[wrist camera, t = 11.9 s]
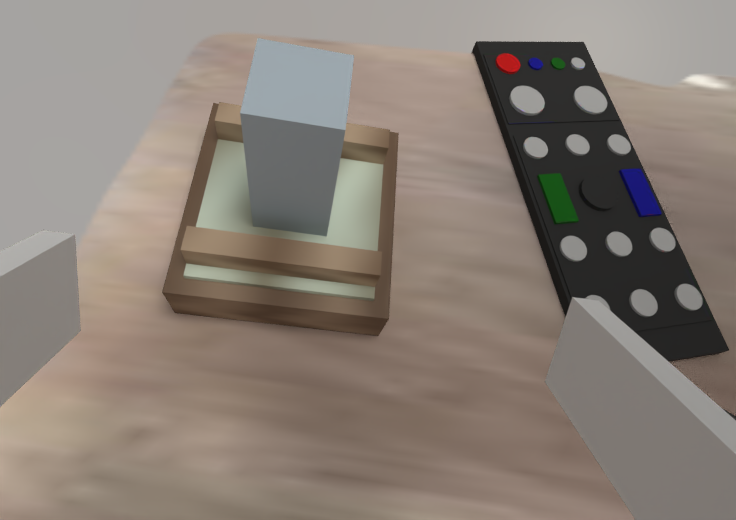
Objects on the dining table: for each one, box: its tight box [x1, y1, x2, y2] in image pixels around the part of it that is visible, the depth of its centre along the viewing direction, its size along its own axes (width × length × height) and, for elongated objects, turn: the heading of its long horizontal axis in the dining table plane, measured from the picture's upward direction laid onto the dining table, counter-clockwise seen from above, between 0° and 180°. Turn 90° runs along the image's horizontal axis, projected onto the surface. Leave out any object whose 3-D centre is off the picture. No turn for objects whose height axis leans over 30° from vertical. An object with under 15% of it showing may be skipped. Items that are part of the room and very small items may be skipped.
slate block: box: [240, 38, 354, 236], centre depth 26 cm, size 4×4×10 cm
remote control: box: [472, 42, 729, 362], centre depth 40 cm, size 11×30×2 cm, turn 10°
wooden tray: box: [162, 102, 398, 336], centre depth 32 cm, size 13×14×6 cm
